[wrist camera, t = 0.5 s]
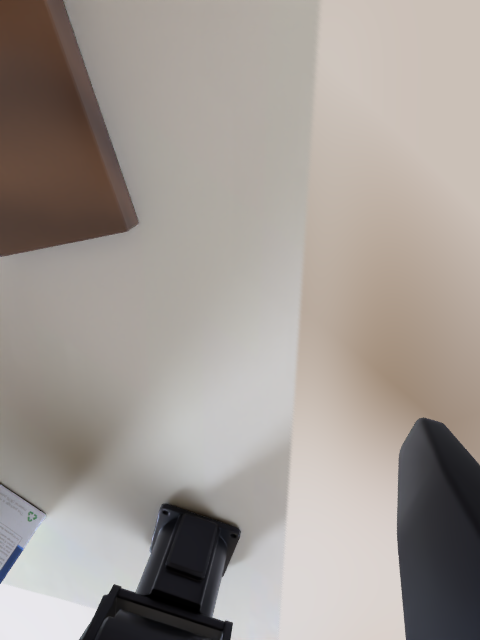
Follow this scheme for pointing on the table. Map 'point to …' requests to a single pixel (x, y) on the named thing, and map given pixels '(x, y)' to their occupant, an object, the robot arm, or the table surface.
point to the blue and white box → (15, 527)
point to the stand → (52, 137)
